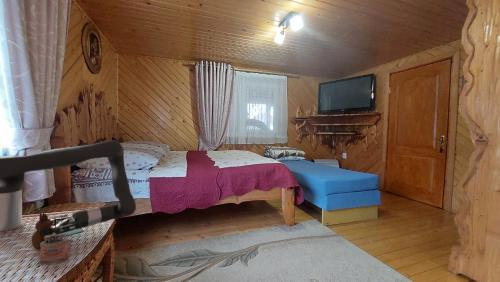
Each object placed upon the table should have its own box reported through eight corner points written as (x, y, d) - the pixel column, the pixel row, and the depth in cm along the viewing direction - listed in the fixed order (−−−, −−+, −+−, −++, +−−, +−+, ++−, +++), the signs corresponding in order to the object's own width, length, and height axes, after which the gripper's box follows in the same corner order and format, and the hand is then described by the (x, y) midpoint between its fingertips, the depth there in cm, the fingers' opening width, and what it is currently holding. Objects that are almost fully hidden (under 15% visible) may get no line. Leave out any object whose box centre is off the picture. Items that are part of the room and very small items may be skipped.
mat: (47, 230, 102) (47, 229, 102) (76, 223, 110) (76, 222, 110) (52, 239, 94) (52, 238, 94) (83, 231, 103) (83, 230, 103)
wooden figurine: (39, 253, 85) (40, 214, 84) (28, 250, 86) (28, 212, 85) (58, 244, 91) (58, 208, 90) (47, 242, 92) (47, 206, 92)
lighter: (38, 266, 77) (38, 238, 77) (42, 260, 80) (42, 233, 80) (66, 261, 81) (67, 235, 80) (69, 256, 84) (70, 230, 83)
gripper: (82, 205, 103) (34, 214, 91) (92, 214, 94) (40, 225, 82) (82, 221, 104) (34, 232, 91) (92, 231, 95) (40, 245, 82)
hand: (37, 229), depth 87 cm, fingers open, 8 cm apart
